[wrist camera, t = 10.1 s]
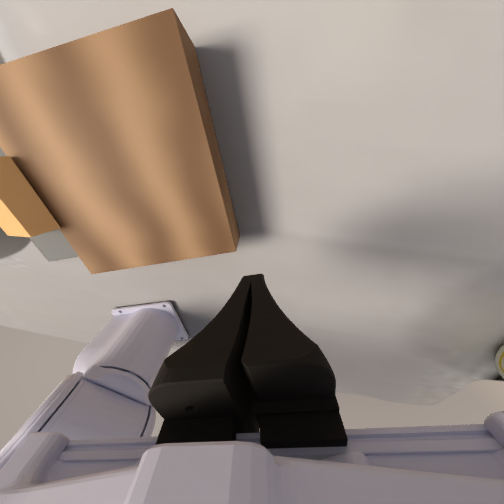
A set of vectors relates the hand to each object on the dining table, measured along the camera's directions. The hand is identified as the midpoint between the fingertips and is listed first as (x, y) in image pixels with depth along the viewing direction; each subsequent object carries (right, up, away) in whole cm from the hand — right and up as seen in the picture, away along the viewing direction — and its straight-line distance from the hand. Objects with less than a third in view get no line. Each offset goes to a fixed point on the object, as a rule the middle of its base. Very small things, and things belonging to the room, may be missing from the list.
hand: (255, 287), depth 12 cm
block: (-22, +7, +5) cm, 24 cm away
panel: (-11, +10, +6) cm, 16 cm away
